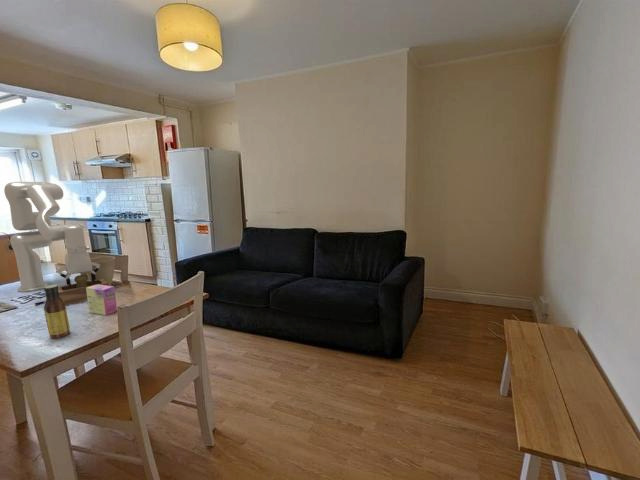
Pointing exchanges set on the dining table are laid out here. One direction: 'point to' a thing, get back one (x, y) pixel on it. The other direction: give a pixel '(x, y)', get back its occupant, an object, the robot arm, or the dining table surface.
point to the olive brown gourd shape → (81, 281)
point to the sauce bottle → (55, 313)
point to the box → (101, 299)
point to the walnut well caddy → (77, 292)
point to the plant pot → (104, 268)
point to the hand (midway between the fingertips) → (81, 283)
